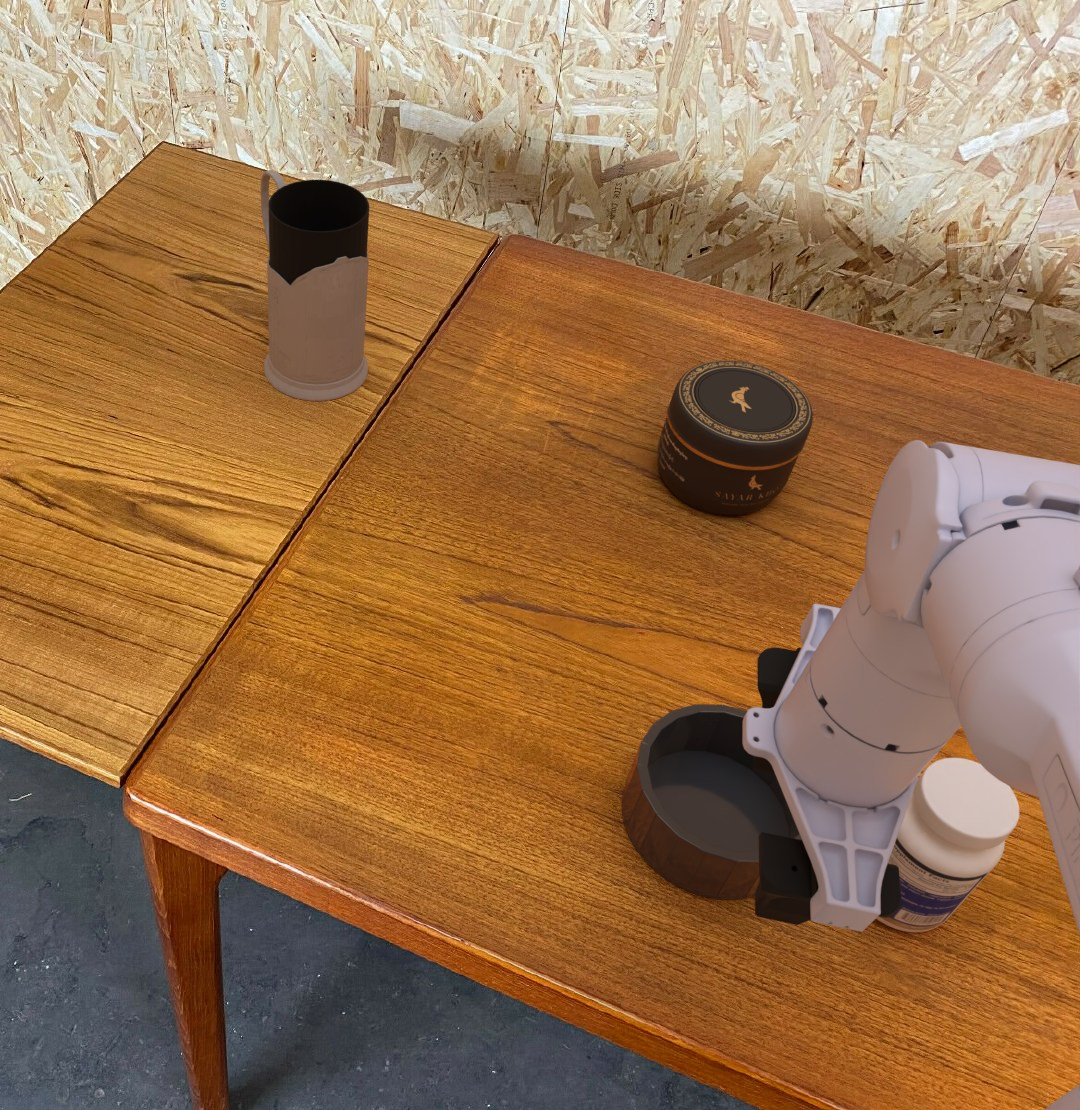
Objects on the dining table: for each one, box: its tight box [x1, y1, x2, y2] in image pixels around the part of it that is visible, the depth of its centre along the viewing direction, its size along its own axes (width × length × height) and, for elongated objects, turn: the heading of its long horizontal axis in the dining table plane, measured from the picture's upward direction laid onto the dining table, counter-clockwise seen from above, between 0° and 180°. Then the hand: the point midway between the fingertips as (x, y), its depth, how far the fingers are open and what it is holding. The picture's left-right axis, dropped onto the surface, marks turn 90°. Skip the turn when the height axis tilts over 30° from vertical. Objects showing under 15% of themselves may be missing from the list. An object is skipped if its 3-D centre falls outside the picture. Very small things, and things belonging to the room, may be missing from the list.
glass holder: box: [259, 169, 370, 402], centre depth 92 cm, size 9×14×15 cm, turn 28°
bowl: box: [621, 703, 802, 901], centre depth 66 cm, size 10×10×4 cm
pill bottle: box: [875, 757, 1020, 933], centre depth 61 cm, size 6×6×10 cm
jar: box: [656, 359, 814, 516], centre depth 85 cm, size 10×10×8 cm
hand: (775, 837), depth 55 cm, fingers open, 7 cm apart
